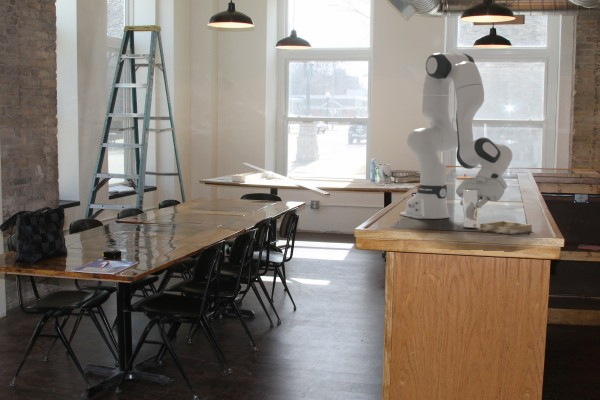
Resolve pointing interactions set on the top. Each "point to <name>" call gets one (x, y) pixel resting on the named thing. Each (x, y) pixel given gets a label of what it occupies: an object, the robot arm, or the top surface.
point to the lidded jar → (461, 179)
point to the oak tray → (506, 227)
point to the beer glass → (470, 207)
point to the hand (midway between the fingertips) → (469, 205)
